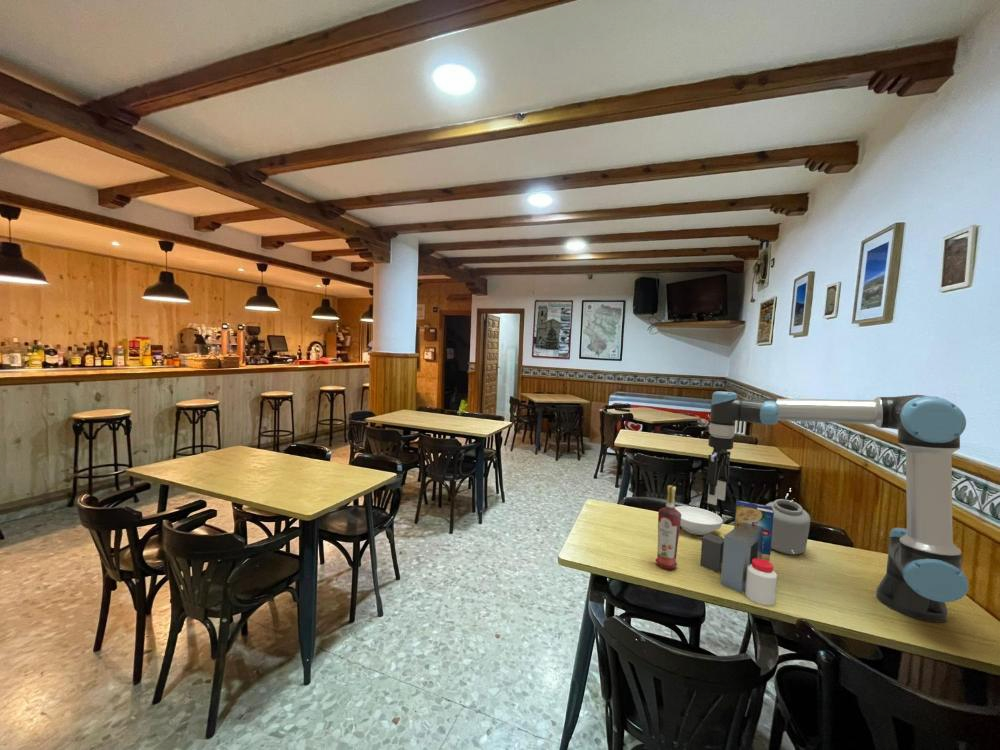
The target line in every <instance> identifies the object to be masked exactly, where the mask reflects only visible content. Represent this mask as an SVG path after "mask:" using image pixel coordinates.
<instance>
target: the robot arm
mask: <svg viewBox="0 0 1000 750" xmlns="http://www.w3.org/2000/svg"><path fill="white" fill-rule="evenodd" d="M711 396H712V398H711V403H710V415H709V417H710V418H709V419H710V420H709V424H708V428H709V434H710V435H708V442H707V444H708V446H709V447H710V448H712V452H711V454H708V465H707V466H708V467H707V473H706V481H705V484H706V485H708V492H707V504H710V505H713V506H717V504H718V500H721V501H726V489H727V483H729V482H730V479H729V478H730V462H731V461H730V459H731V453H732V452H731V451H730V450H732V449H733V448H734V437H735V426H736V421H737V422H744V423H745V422H746V423H752V424H753V423H755V424H761V425H765V426H766V425H769V426H770V425H772V426H773V425H777V424H778V422H779V421H789V422H790V421H794V422H815V423H835V424H836V423H839V424H855V425H856V424H858V425H859V424H860V425H874V426H875V427H877V428H879V429H892V430H897V441H898V442H897V443H898V445H899V446H901V447H902V448H904V450H905V482H906V483H905V485H906V489H905V490H906V528H904V527H893V528H892V529H891V530H890V532H889V536H888V538H889V540H888V550H887V551H888V552H887V553H888V554H887V562H886V573H885V574H884V576H883V578H882V579H881V581H880V583H879V584H878V586H877V588H876V593H875V594H876V598H877V599H878V600H879V601H880V602H881V603H882V604H884V605H885V606H886V607H888V608H891V610H892V609H893V610H894V611H897V612H899V613H901V614H903V615H906V616H909V617H912V618H915V619H918V620H923V621H926V622H932V623H945V622H947V621H948V615H949V614H948V613H949V612H948V607H947V605H946V603H952V602H956V601H958V600H961V599H963V598H964V597H965V596H966V595H967V593H968V592H969V582H968V577H966V574H965V573H964V572H963V568H962V567H963V566H962V565H963V563H962V562H963V561H962V560H963V559H962V554H963V553H962V549H960V548H959V547H958V546H957V545H955V544H954V541H953V540H954V537H953V536H954V535H953V479H952V478H953V477H952V476H953V475H952V473H953V472H952V468H953V467H952V464H953V463H952V454H953V453H955V452H957V451H958V450H960V449H961V443H960V442H961V435H962V434H963V433H964V431H965V430H966V428H967V427H966V426H967V420H966V419H967V418H966V415H965V414H964V412H963V410H962V409H961V408H960V407H959V406H957V405H956V404H954V403H953V402H951V401H949V400H948V399H945V398H942V397H938V396H930V395H923V394H913V395H900V396H899V395H898V396H877V397H876V398H874V399H825V398H824V399H821V398H820V399H819V398H764V397H755V398H752V399H743V398H738V394H737V392H732V391H720V390H719V391H714V392H713V393H712V395H711ZM728 450H729V451H728Z"/></svg>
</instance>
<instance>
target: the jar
mask: <svg viewBox="0 0 1000 750" xmlns="http://www.w3.org/2000/svg"><path fill="white" fill-rule="evenodd" d="M791 489H792V488H791V487H790V488H789V492H790V493H791V492H792V490H791ZM788 496H789V493H786V496H785V499H784V498H779V499H775V500H774V501H769V502H768V503H766V504H764V505H765V506H770V507H772V508H773V511H774V517H773V528H772V540H771V550H774V551H775V552H779V553H781V554H786V555H799V554H802V553H804V552H805V550H806V549H807V544H808V540H809V539H808V538H809V533H810V526H811V516H810V515H809V512H807V511H806V510H805V509H803V507H802V506H803V505H801V504H799V503H797V502H796V501H794V500H793V499H791V500H789V499H787V497H788ZM801 562H803V561H802V560H801Z"/></svg>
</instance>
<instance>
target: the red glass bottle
mask: <svg viewBox="0 0 1000 750" xmlns="http://www.w3.org/2000/svg"><path fill="white" fill-rule="evenodd" d="M666 487H667V488H666V490H667V491H666V492H667V497H666V503H665V507H662V508H659V509H658V513H657V515H658V517H657V519H658V521H657V556H656V558H655V563H657V565H658V566H659V567H660V568H663V569H665V570H672V569H675V568H677V566H678V564H677V553H678V544H679V537H680V530H681V529H680V528H681V526H680V522H681V513H680V512H679V511H678V510H676V509H675V507H676V501H675V500H676V499H675V496H676V491H677V487H676V486H674V485H673V484H672V485H670V484H669V485H667V486H666Z"/></svg>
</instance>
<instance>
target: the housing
mask: <svg viewBox="0 0 1000 750" xmlns="http://www.w3.org/2000/svg"><path fill="white" fill-rule="evenodd" d="M763 536H764V527H761V526H757V525H752V524H747V523H741V524H740V525H739V526H737V527H736V528H734V527H733V529H731V530H730V531H729V532H728V533H726V534H725V535H724V537H723V538H724V548H723V561H722V572H721V573H720V574H721V577H720V585H722V586H723V587H726V588H728V587H729V589H731V590H733V591H735V590H736V591H735V592H738V593H740V594H742V593H743V592H745V587H746V574H747V566H748V565H750V564H752V559H755V558H758V559H762V548H763Z"/></svg>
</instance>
